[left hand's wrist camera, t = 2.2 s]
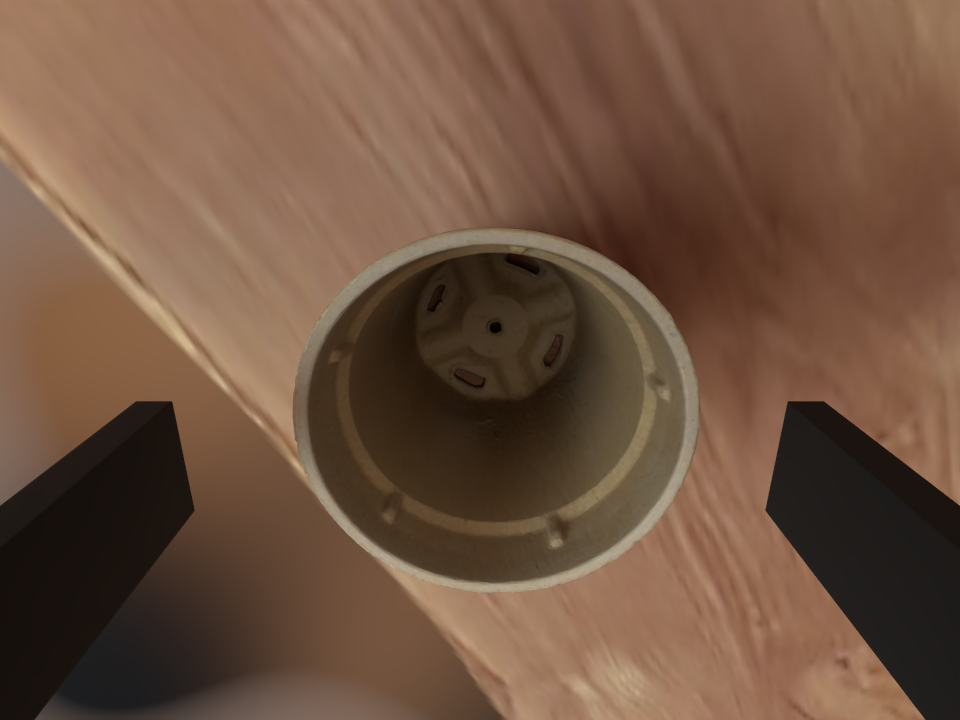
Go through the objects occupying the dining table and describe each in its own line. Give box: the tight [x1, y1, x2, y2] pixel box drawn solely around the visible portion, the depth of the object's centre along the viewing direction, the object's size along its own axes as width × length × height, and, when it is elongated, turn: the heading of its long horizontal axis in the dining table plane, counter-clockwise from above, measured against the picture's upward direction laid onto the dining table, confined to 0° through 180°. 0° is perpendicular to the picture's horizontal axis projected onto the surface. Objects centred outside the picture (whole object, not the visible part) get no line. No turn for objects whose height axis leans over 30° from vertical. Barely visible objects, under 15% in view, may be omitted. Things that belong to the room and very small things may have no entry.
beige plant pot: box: [293, 227, 700, 592], centre depth 18 cm, size 9×9×9 cm
